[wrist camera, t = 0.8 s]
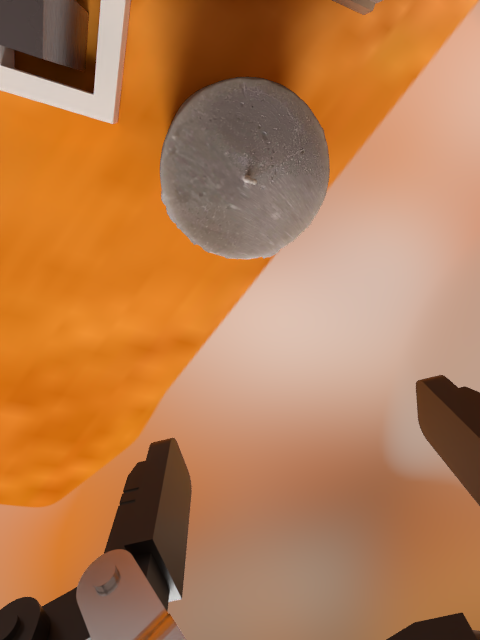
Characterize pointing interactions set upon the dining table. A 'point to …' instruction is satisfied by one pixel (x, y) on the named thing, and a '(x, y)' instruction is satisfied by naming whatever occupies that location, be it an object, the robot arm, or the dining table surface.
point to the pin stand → (107, 71)
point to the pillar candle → (244, 168)
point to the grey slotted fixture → (359, 5)
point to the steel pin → (46, 30)
